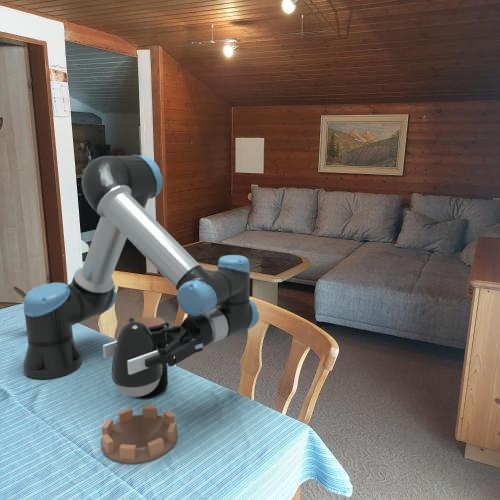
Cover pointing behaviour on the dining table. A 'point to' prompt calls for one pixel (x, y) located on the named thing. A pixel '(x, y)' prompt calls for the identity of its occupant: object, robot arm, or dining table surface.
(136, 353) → the pump dispenser
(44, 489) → the dining table surface
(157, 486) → the dining table surface
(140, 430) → the castellated collar
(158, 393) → the coffee jar
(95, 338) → the dining table surface
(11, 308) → the dining table surface
